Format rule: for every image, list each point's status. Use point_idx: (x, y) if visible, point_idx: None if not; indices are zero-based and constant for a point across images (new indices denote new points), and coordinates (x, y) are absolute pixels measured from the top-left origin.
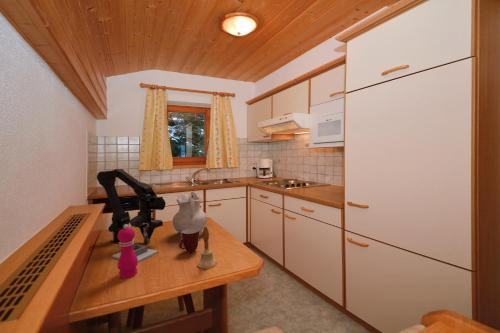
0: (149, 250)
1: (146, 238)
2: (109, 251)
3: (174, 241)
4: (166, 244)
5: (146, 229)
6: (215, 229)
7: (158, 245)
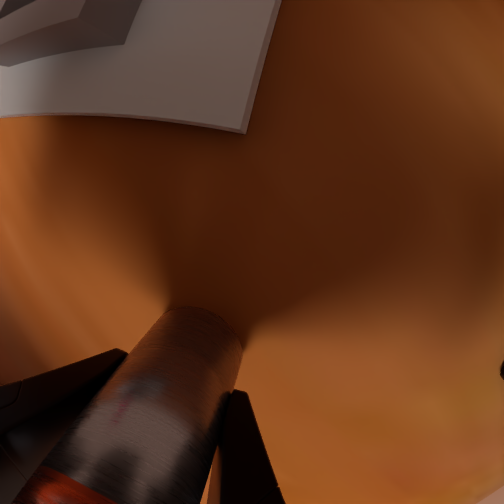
0: (2, 92)
1: (139, 347)
2: (486, 19)
3: (18, 360)
4: (11, 300)
5: (33, 481)
6: None
7: (36, 271)
